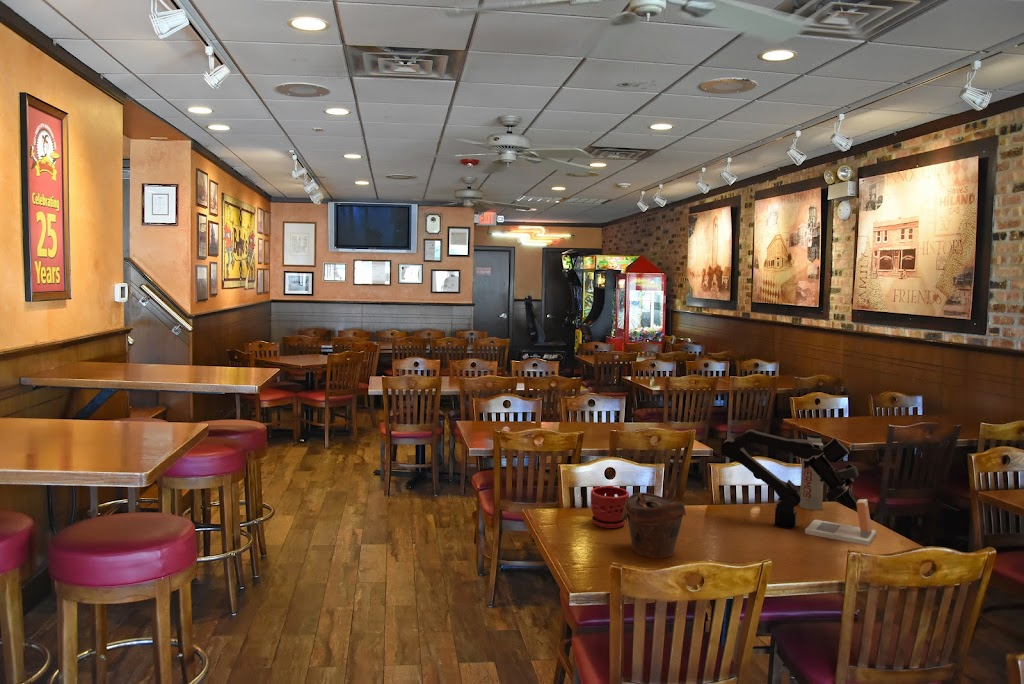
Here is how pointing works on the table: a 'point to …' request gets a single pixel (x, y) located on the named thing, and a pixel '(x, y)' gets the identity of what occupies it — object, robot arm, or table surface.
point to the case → (653, 524)
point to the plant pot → (608, 506)
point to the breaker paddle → (863, 515)
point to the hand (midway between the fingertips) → (858, 508)
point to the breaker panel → (840, 532)
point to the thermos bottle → (811, 482)
